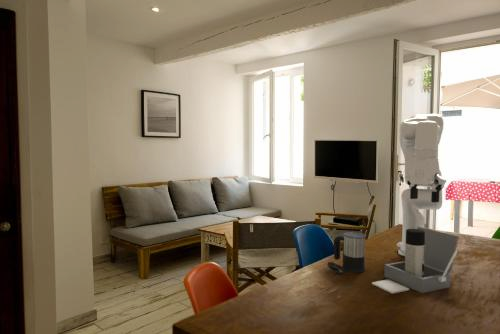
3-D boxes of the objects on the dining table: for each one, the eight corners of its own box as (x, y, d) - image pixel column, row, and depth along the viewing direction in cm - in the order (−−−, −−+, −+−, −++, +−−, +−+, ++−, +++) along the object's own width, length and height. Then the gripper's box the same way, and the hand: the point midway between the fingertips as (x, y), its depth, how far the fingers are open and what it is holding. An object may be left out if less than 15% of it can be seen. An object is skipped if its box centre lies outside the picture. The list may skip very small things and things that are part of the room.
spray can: (425, 286, 139) (427, 232, 138) (406, 284, 140) (407, 231, 139) (421, 279, 145) (422, 228, 144) (402, 278, 147) (404, 227, 146)
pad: (371, 284, 141) (371, 282, 141) (388, 280, 144) (388, 279, 144) (392, 293, 132) (392, 291, 132) (408, 290, 135) (408, 288, 135)
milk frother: (366, 267, 160) (367, 233, 159) (361, 279, 145) (362, 241, 145) (333, 263, 166) (334, 229, 165) (324, 274, 151) (325, 237, 151)
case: (384, 276, 148) (385, 230, 147) (417, 270, 156) (418, 226, 155) (425, 294, 131) (427, 241, 130) (460, 286, 138) (462, 236, 137)
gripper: (400, 154, 146) (399, 198, 147) (438, 155, 130) (436, 204, 131) (414, 154, 149) (413, 197, 150) (453, 155, 133) (451, 203, 134)
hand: (424, 200), depth 140 cm, fingers open, 9 cm apart
